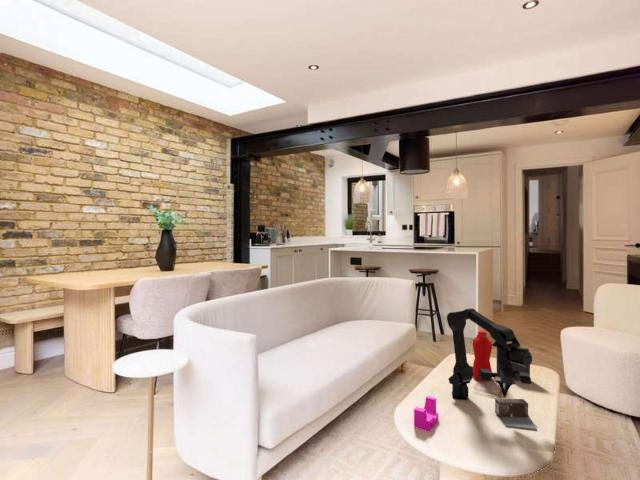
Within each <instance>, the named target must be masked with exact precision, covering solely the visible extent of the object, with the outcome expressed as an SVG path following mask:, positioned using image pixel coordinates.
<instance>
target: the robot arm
mask: <svg viewBox="0 0 640 480" xmlns="http://www.w3.org/2000/svg"><path fill="white" fill-rule="evenodd" d="M467 320H470V321H471V322H473V323H474V324H476V325H477V326H478V327H480V328H482V329H483V330H484V331H485V332H487V333H488V334H489V335H490V337H491V338H492V339H493V340H494V341H495V342H493V343H492V347H495V348H496V372H493V371H492V372H490V370H489V369H480V370H479V376H480V378H481V379H482V380H481V381H483V380H490V379H491V377H492V378H493V380H494V382H495V383H496V384H498V386H499V388H500V392H501V395H502V397H503V398H506V397H507V395H508V392H509V390H510V388H511V387H512V386H513V385H515V384H516V382H518V381H520V383H522V384H524V385H525V384H526V385H531V384H532V379H531V375H530V376H529V375H528V374H527V373H525V372H519V371H513V368H512V362H513V363H516V364H519V365H522V366H526V367H528V366H530V367H531V364H532V363H533V356H532V353H531V351H530V350H529V348H526V347H521V346H522V345H521V344H520V341H519V340H518V339H517V336H516V335H515V333H514V330H513V329H511V328H510V327H507V326H505V325H502V324H498V323H495V322H494V321H492V320H490V319H489V318H488V317H486V316H484V315H483V314H482V313H480V312H478V311H477V310H476V309H474V308H471V307H470V308H466V309H463V310H458V311H457V310H456V311H452V312H448V313H447V315H446V322H447V325H448V328H450V330H451V332H452V340H453V341H452V342H453V350H454V356H455V357H454V358H455V364H454V366H453V369H452V372H453V373H452V375H450V376H449V378H448V383H449V384H451V385H452V386H451V389H452V390H451V396H452V399H456V400H457V399H458V400H468V399H469V387H468V384H470V383H471V381H472V379H474V377H473V375H474V374H473V365H470V364H469V362H468V361H467V360H468V359H467V358H468V357H467V348H466V343H465V342H466V341H465V333H464V330H465V327H466V325H467ZM491 380H492V379H491ZM491 380H490V381H491Z"/></svg>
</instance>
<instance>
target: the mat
mask: <svg viewBox="0 0 640 480" xmlns="http://www.w3.org/2000/svg"><path fill="white" fill-rule="evenodd" d="M501 418H502V421H503V423H504V426H505V427H506V428H515V429H522V430H531V431H537V430H538V428H537V427H536V425H535V424H534V421H533V420H532V419H531V417H530V414H528V417H501Z"/></svg>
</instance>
